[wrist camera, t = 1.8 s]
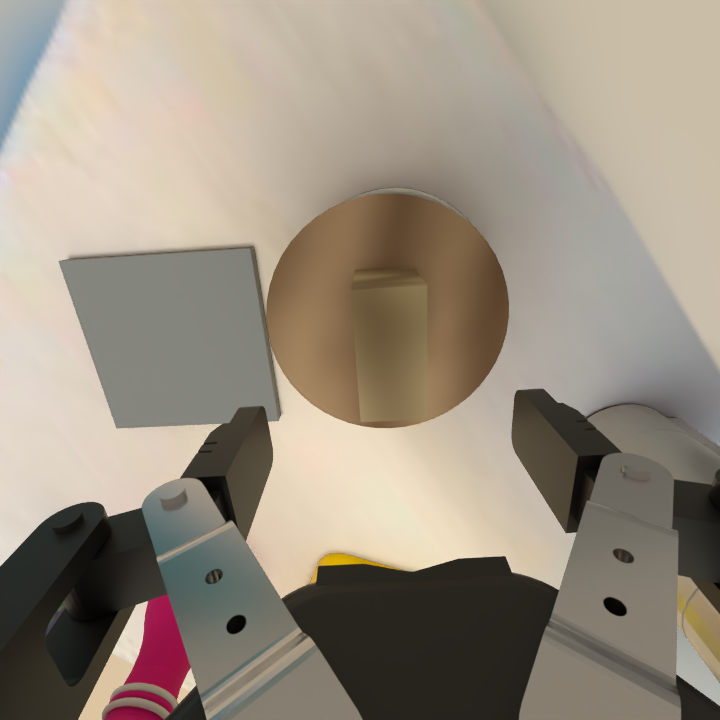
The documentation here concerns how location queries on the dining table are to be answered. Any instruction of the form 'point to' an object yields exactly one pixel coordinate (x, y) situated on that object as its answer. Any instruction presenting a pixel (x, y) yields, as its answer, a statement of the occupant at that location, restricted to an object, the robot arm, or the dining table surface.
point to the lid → (387, 310)
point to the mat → (176, 335)
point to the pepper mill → (153, 669)
